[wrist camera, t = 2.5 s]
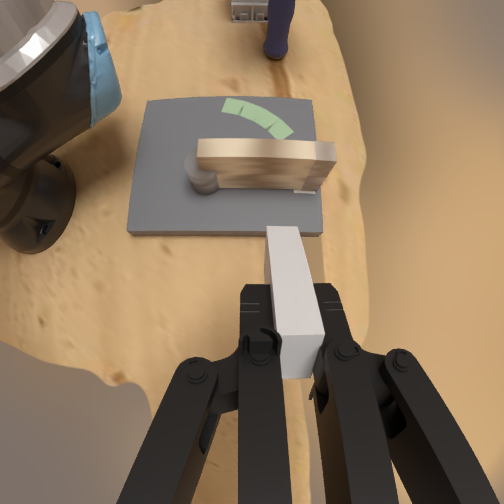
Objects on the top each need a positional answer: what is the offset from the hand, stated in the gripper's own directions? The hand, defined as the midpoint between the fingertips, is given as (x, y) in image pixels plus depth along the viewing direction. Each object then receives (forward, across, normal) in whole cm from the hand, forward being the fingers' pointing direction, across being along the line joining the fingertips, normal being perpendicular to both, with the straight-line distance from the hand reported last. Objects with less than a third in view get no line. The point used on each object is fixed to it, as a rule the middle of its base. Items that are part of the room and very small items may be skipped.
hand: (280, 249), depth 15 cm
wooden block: (+21, -1, -5) cm, 21 cm away
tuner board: (+25, -4, -4) cm, 26 cm away
